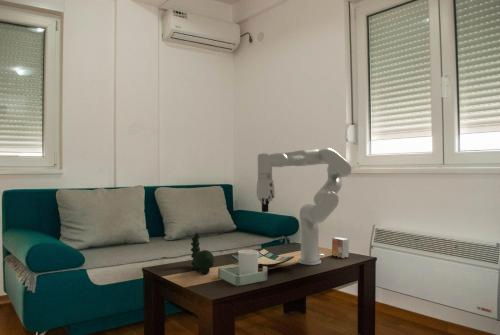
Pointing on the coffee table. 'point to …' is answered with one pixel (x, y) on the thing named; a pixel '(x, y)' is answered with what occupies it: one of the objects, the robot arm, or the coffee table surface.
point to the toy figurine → (201, 256)
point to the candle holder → (248, 261)
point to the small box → (340, 247)
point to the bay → (232, 277)
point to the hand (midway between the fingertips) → (265, 211)
